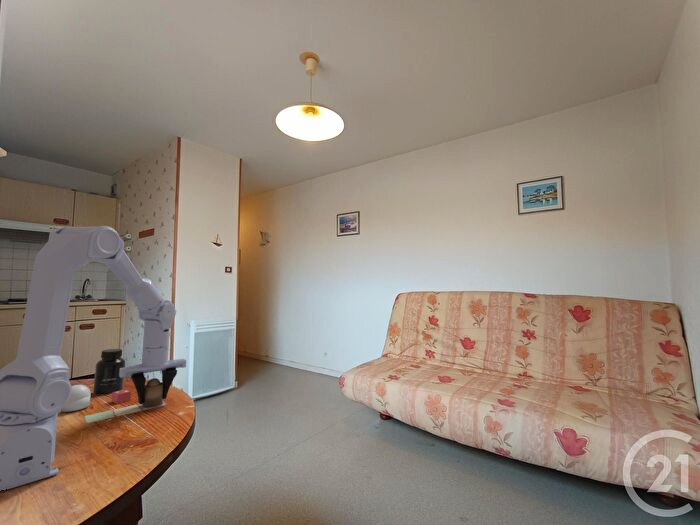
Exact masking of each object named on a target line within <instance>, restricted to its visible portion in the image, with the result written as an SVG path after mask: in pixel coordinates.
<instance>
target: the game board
mask: <svg viewBox="0 0 700 525" xmlns="http://www.w3.org/2000/svg"><path fill="white" fill-rule="evenodd" d="M165 406H167V404H166V403H165V402H164V400H163V401H162V404H161V405H159V406H156V407H152V408H144V407H142V404H140V403H138V404H134V405H133V404H132V405H129V406H124V407H119V408H115V409H112V410H111V409H109V410H107V411H101V412H96V413H93V414H88V415H84V416H83V417H84V419H85V422H86V424H91V423H94V422H100V421H103V420H108V419H112V418H115V416H116V417H121V416H124V415H129V414H134V413H137V412H142V411H146V410H151V409H154V408H159V407H165Z"/></svg>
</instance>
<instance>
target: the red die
mask: <svg viewBox="0 0 700 525" xmlns="http://www.w3.org/2000/svg"><path fill="white" fill-rule="evenodd" d="M131 396H132V391H131V390H128V389H124V388H123V389H122V390H120V391H116V392H112V393H111V402H112V403H113V404H116V405H121V404H123V403H126V402H130V401H131Z"/></svg>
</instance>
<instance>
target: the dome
mask: <svg viewBox="0 0 700 525" xmlns="http://www.w3.org/2000/svg"><path fill="white" fill-rule="evenodd" d="M71 387H72V391H71V395H70V398H69V400H68V402H67V403H66V404H65V406H64V407H63V408H62V409H61V412H64V413H65V412H66V413H67V412H73V411H74V412H75V411H79V410H83V409H85V408H88V407H89V406H90V405H91V393H92V392H91V390H90V388H89V387H88V386H86V385H84V384H74V385H71Z"/></svg>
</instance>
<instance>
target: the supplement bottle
mask: <svg viewBox="0 0 700 525" xmlns="http://www.w3.org/2000/svg"><path fill="white" fill-rule="evenodd" d="M122 356H123V349H122V348H108V349H104V350H102V351H101V355H100V358H101V359H100V360H99V361H97V362H96V363H95V369H94V370H95V371H94V380H93V392H92V393H93V395H98V396H99V395H101V396H102V395H109V394H112V392H116V391H120V390H124V381H125V377H123V378H121V377H120V376H119V372H120V368H124V367H126V359H124V358H123V357H122Z"/></svg>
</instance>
